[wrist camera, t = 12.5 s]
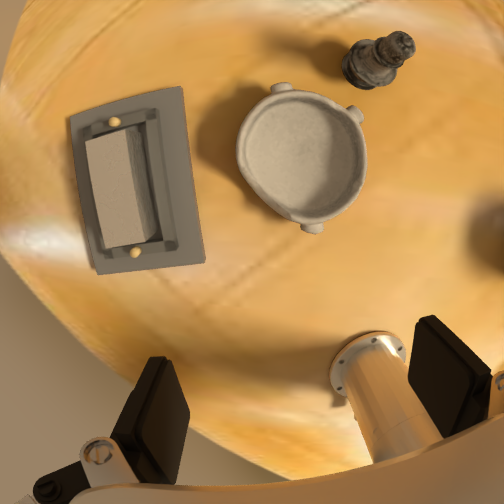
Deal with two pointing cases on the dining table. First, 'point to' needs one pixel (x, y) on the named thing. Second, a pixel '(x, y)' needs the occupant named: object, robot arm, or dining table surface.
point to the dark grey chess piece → (377, 60)
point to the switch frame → (160, 177)
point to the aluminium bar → (121, 188)
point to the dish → (303, 155)
